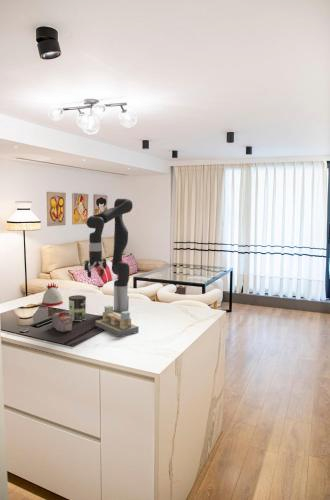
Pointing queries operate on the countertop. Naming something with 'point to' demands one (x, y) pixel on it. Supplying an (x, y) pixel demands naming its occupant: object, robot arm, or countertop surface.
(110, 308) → the crate
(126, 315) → the crate
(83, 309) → the coffee can
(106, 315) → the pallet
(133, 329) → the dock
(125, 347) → the countertop surface
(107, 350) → the countertop surface
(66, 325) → the food item
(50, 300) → the kitchen timer
